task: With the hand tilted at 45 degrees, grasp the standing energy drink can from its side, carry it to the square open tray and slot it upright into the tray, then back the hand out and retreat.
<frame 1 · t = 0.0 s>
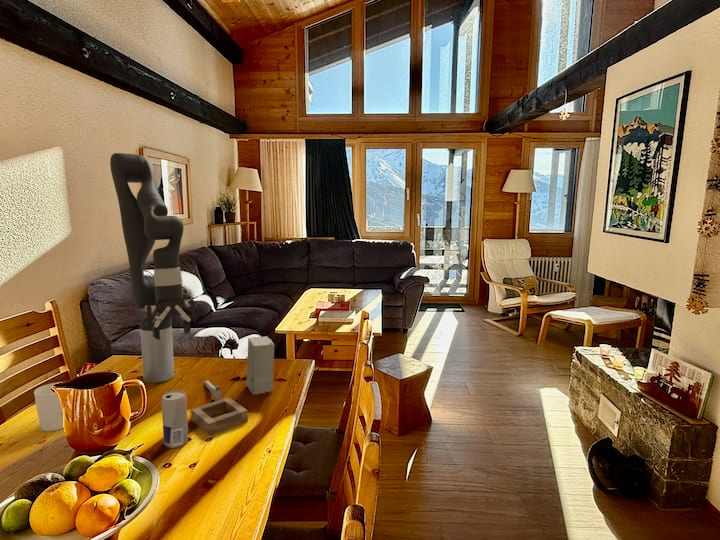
hand: (172, 336, 128), 17 cm above the table, tool pointing down, fingers open, 8 cm apart
square open tray: (219, 420, 112), on the table
skincare box: (260, 389, 132), on the table
energy drink: (176, 443, 101), on the table
white cup: (57, 425, 109), on the table
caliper: (212, 396, 127), on the table
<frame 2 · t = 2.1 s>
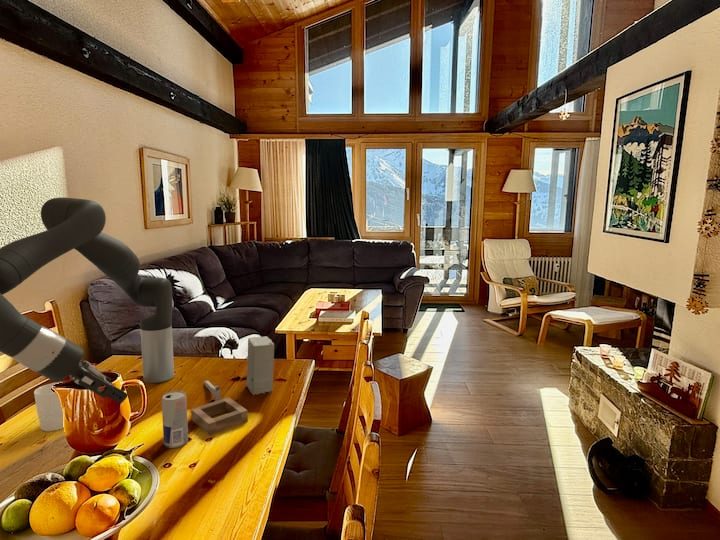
hand: (118, 392, 91), 16 cm above the table, tool tilted 45°, fingers open, 8 cm apart
nothing on the table moved.
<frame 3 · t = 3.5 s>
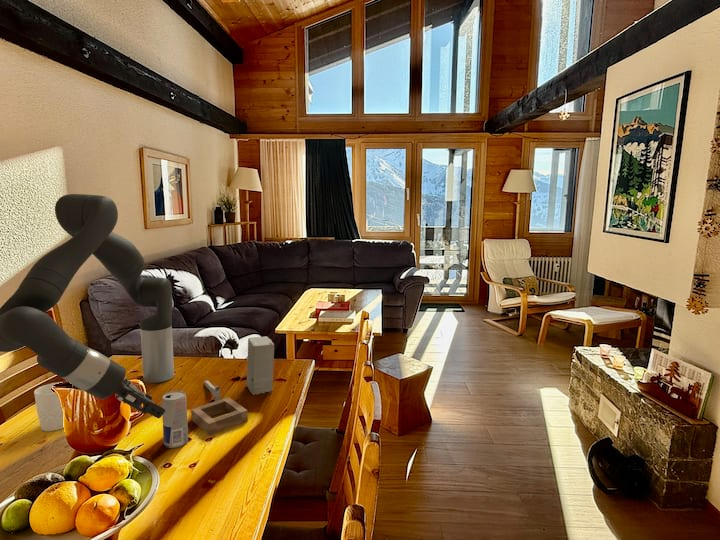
hand: (155, 407, 97), 10 cm above the table, tool tilted 45°, fingers open, 8 cm apart
nothing on the table moved.
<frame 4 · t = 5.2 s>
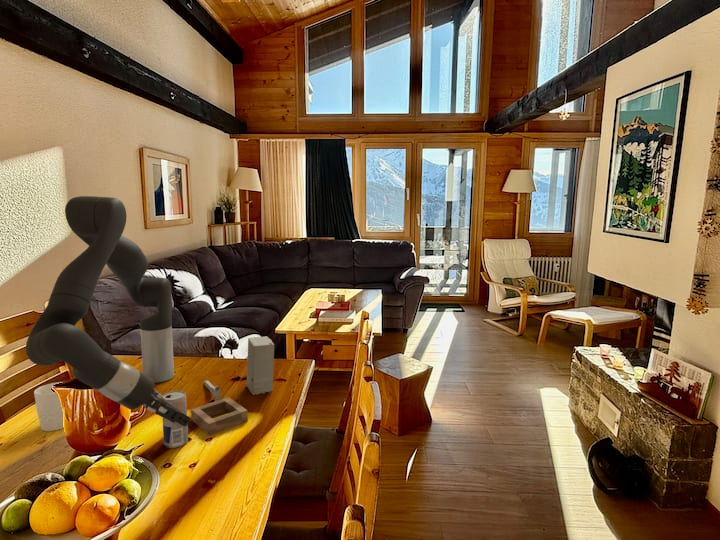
hand: (182, 417, 102), 6 cm above the table, tool tilted 45°, fingers closed on energy drink, 5 cm apart
energy drink: (176, 443, 101), on the table, touching gripper
everything else where it was.
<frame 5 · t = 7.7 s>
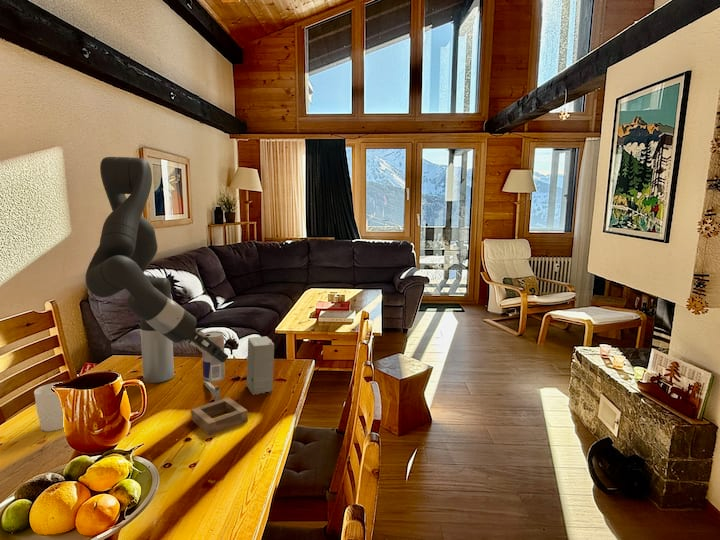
hand: (220, 356, 110), 18 cm above the table, tool tilted 45°, fingers closed on energy drink, 5 cm apart
energy drink: (214, 379, 110), point 12 cm above the table, touching gripper
everything else where it was.
when the fingers open (7 cm above the table, at t = 10.4 s): energy drink drops 1 cm, resting in square open tray.
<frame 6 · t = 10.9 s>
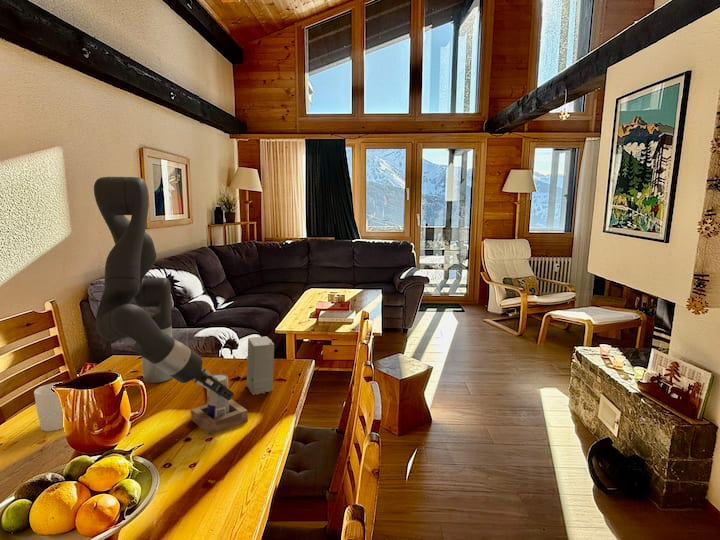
hand: (223, 391, 112), 8 cm above the table, tool tilted 45°, fingers open, 8 cm apart
energy drink: (218, 421, 112), resting in square open tray
everything else where it was.
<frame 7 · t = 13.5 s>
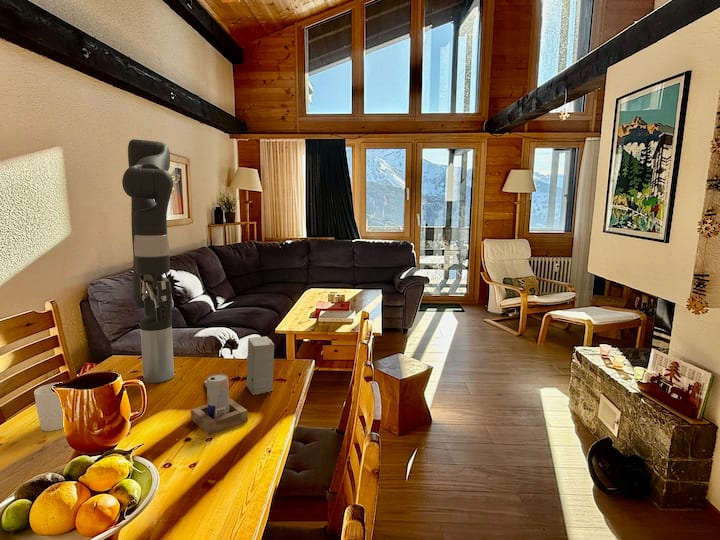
hand: (155, 318, 104), 29 cm above the table, tool pointing down, fingers open, 8 cm apart
nothing on the table moved.
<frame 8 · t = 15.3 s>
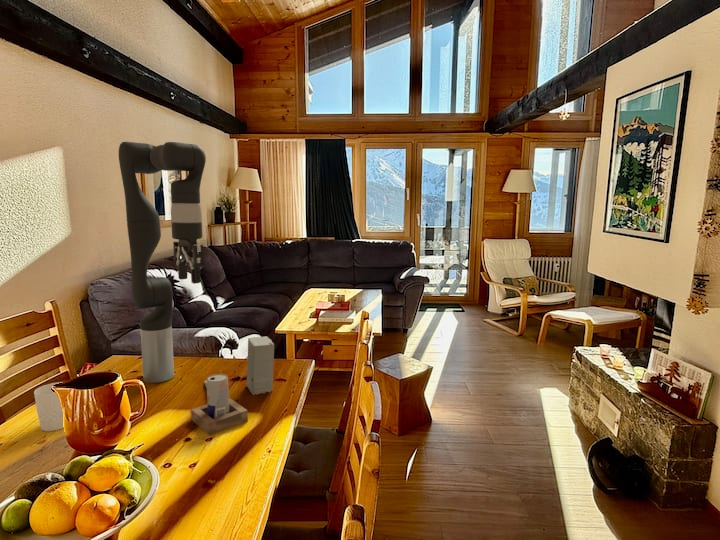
hand: (189, 281, 114), 36 cm above the table, tool pointing down, fingers open, 8 cm apart
nothing on the table moved.
at the end: energy drink 0.2 cm off-centre on the square open tray, point 0.0 cm above the square open tray's base; energy drink tilted 0°; the gripper is holding nothing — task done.
